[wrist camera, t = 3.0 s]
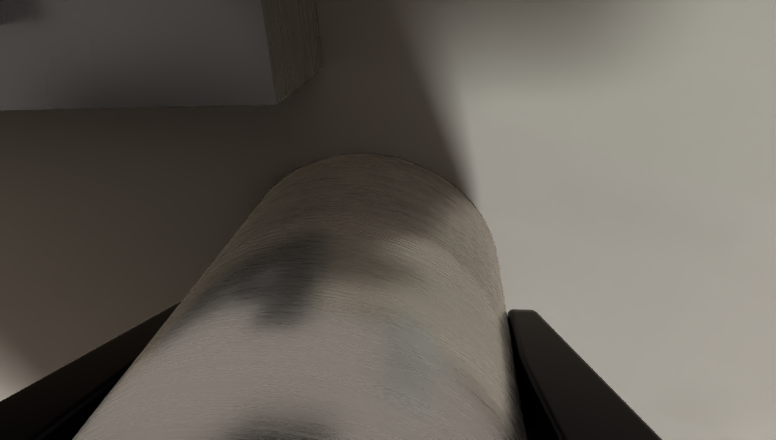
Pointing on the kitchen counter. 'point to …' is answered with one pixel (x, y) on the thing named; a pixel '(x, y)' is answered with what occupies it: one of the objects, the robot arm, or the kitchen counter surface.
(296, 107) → the kitchen counter surface
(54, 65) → the dial scale
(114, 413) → the cylinder
